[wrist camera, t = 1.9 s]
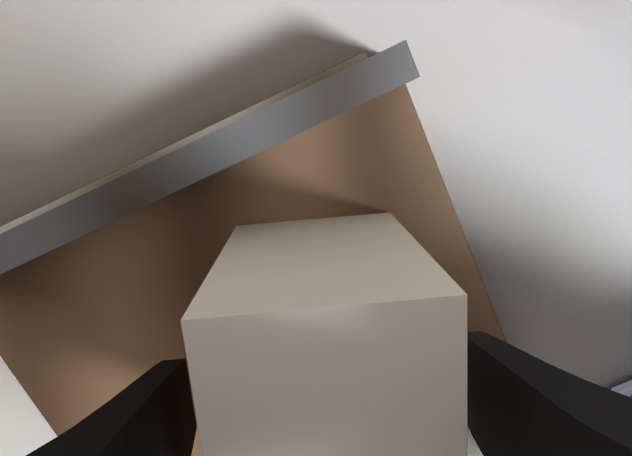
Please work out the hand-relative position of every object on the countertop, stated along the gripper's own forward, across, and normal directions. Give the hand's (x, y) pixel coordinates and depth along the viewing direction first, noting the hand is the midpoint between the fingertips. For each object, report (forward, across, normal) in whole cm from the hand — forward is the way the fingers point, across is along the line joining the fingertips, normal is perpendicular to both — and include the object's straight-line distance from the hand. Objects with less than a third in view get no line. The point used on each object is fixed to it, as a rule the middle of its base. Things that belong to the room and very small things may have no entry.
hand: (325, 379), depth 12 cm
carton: (+4, 0, 0) cm, 4 cm away
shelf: (+5, +3, 0) cm, 6 cm away
